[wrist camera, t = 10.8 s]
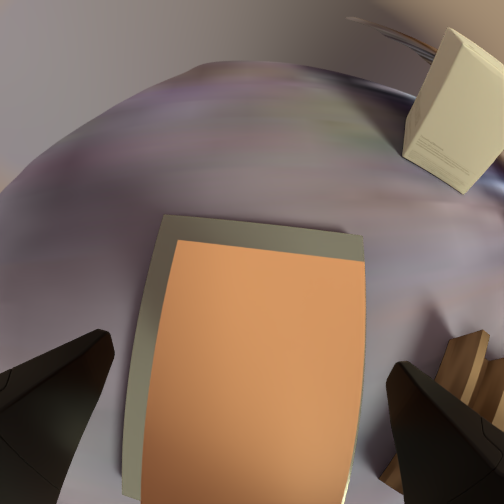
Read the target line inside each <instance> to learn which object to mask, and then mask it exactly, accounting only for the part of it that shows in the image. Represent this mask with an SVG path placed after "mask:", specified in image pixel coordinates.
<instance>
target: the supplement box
mask: <svg viewBox="0 0 504 504" xmlns="http://www.w3.org/2000/svg"><path fill="white" fill-rule="evenodd" d="M503 149H504V65H503V64H502V63H500V62H499V61H498V60H497V59H495V58H494V57H493V56H491V55H490V54H489V53H487V52H486V51H485V50H483V49H482V48H481V47H479V46H478V45H476V44H475V43H474V42H472V41H471V40H469V39H468V38H466V37H464V36H463V35H461V34H460V33H458V32H457V31H455V30H453V29H451V28H449V27H448V28H447V29H446V32H445V34H444V36H443V39H442V41H441V44H440V46H439V49H438V51H437V54H436V56H435V58H434V61H433V63H432V65H431V68H430V70H429V72H428V74H427V76H426V79H425V81H424V83H423V85H422V87H421V89H420V92H419V94H418V96H417V98H416V100H415V102H414V104H413V106H412V108H411V110H410V112H409V114H408V116H407V118H406V125H405V135H404V144H403V153H402V156H403V157H404V158H406V159H408V160H410V161H411V162H413V163H415V164H417V165H418V166H420V167H422V168H423V169H425V170H427V171H428V172H430V173H432V174H433V175H435V176H436V177H438V178H440V179H441V180H443V181H444V182H446V183H447V184H449V185H450V186H452V187H453V188H455V189H456V190H458V191H459V192H460V193H462V194H463V195H464V194H465V193H466V192H467V191H468V190H469V189H470V188H471V187H472V185H473V184H474V183H475V182H476V181H477V180H478V179H479V178H480V177H481V175H482V174H483V173H484V172H485V171H486V170H487V169H488V167H489V166H490V165H491V164H492V163H493V161H494V160H495V159H496V158H497V157H498V155H499V154H500V153H501V152H502V151H503Z"/></svg>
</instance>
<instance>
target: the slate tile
mask: <svg viewBox="0 0 504 504" xmlns="http://www.w3.org/2000/svg"><path fill="white" fill-rule="evenodd" d="M178 240H184V241H193V242H201V243H210V244H219V245H227V246H236V247H244V248H253V249H261V250H270V251H278V252H287V253H295V254H303V255H312V256H320V257H328V258H337V259H345V260H353V261H361V262H364V247H363V236H360V235H353V234H345V233H337V232H330V231H322V230H314V229H306V228H297V227H289V226H280V225H271V224H262V223H252V222H243V221H233V220H223V219H212V218H201V217H190V216H178V215H165V214H164V215H163V219H162V222H161V225H160V229H159V232H158V236H157V240H156V243H155V247H154V251H153V255H152V259H151V263H150V267H149V271H148V275H147V279H146V283H145V288H144V292H143V297H142V302H141V306H140V311H139V317H138V322H137V327H136V333H135V338H134V344H133V351H132V357H131V364H130V371H129V379H128V387H127V396H126V405H125V417H124V430H123V449H122V495H125V496H128V497H131V498H134V499H136V500H140V501H141V472H142V454H143V440H144V429H145V418H146V409H147V400H148V392H149V385H150V377H151V371H152V364H153V357H154V351H155V345H156V339H157V334H158V328H159V323H160V318H161V312H162V307H163V302H164V298H165V293H166V288H167V284H168V279H169V275H170V270H171V266H172V262H173V258H174V253H175V249H176V245H177V241H178ZM364 263H365V262H364ZM365 297H366V284H365ZM365 348H366V316H365ZM364 368H365V350H364V367H363V380H362V391H361V400H360V409H359V417H358V424H357V431H356V437H355V443H354V449H353V454H352V460H351V465H350V469H349V474H348V478H347V483H346V487H345V491H344V495H343V499H342V503H341V504H344V501H345V497H346V493H347V489H348V484H349V480H350V475H351V470H352V465H353V460H354V454H355V449H356V442H357V436H358V429H359V422H360V413H361V405H362V395H363V383H364Z"/></svg>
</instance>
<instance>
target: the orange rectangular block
mask: <svg viewBox="0 0 504 504" xmlns="http://www.w3.org/2000/svg"><path fill="white" fill-rule="evenodd" d="M365 316H366V297H365V263H364V262H361V261H353V260H345V259H337V258H328V257H320V256H312V255H303V254H295V253H287V252H278V251H270V250H261V249H253V248H244V247H236V246H227V245H219V244H210V243H201V242H193V241H184V240H178V241H177V245H176V249H175V253H174V258H173V262H172V266H171V270H170V275H169V279H168V284H167V288H166V293H165V298H164V302H163V307H162V312H161V318H160V323H159V328H158V334H157V339H156V345H155V351H154V357H153V364H152V371H151V377H150V385H149V392H148V400H147V409H146V418H145V429H144V440H143V454H142V472H141V504H341V503H342V499H343V495H344V491H345V487H346V483H347V478H348V474H349V469H350V465H351V460H352V454H353V449H354V443H355V437H356V431H357V424H358V417H359V409H360V400H361V391H362V380H363V367H364V350H365Z"/></svg>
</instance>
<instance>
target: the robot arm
mask: <svg viewBox="0 0 504 504" xmlns="http://www.w3.org/2000/svg"><path fill="white" fill-rule="evenodd" d="M114 355H115V351H114V347H113V343H112V339H111V335H110V333H109V332H108V331H105V330H101V329H96V330H94V331H92V332H90V333H87V334H85V335H83V336H81V337H79V338H77V339H74V340H72V341H70V342H68V343H66V344H64V345H61V346H59V347H57V348H55V349H53V350H51V351H48V352H46V353H44V354H42V355H40V356H38V357H35V358H33V359H31V360H29V361H27V362H25V363H22V364H20V365H18V366H16V367H14V368H12V369H9V370H7V371H5V372H3V373H0V504H56V503H57V500H58V497H59V494H60V490H61V488H62V485H63V482H64V480H65V477H66V474H67V472H68V469H69V466H70V464H71V461H72V459H73V456H74V454H75V451H76V449H77V447H78V444H79V442H80V439H81V437H82V435H83V433H84V430H85V428H86V426H87V423H88V421H89V419H90V417H91V415H92V412H93V410H94V408H95V406H96V404H97V402H98V400H99V397H100V395H101V392H102V390H103V387H104V384H105V381H106V378H107V376H108V373H109V370H110V367H111V365H112V362H113V359H114ZM386 391H387V398H388V405H389V414H390V422H391V427H392V432H393V437H394V442H395V447H396V452H397V457H398V463H399V469H400V475H401V481H402V488H403V495H404V503H405V504H504V432H503V431H502V430H500V429H498V428H497V427H496V426H494V425H493V424H491V423H490V422H489V421H487V420H486V419H485V418H483V417H482V416H481V417H480V415H479V414H478V413H477V412H475V411H474V410H473V409H471V408H470V407H469V406H467V405H466V404H465V403H463V402H462V401H461V400H459V399H458V398H457V397H455V396H454V395H453V394H451V393H450V392H449V391H447V390H446V389H445V388H443V387H442V386H441V385H439V384H438V383H437V382H435V381H434V380H433V379H431V378H430V377H429V376H427V375H426V374H425V373H423V372H422V371H421V370H419V369H418V368H417V367H415V366H414V365H413V364H411V363H410V362H408V361H399V362H397V363H396V364H395V365H394V367H393V369H392V371H391V373H390V374H389V376H388V378H387V381H386Z"/></svg>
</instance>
